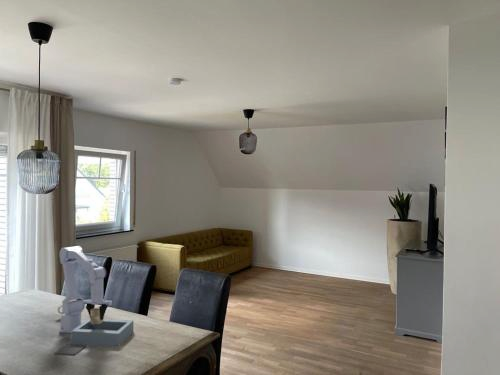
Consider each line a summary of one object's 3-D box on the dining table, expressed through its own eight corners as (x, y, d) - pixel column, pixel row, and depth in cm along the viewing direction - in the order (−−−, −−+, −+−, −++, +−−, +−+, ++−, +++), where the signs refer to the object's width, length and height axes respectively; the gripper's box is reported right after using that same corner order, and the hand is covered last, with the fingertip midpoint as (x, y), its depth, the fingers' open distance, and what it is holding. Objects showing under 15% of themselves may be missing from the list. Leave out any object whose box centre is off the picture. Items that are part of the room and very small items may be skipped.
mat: (53, 354, 175) (53, 353, 175) (66, 345, 185) (66, 344, 185) (74, 355, 174) (74, 354, 174) (86, 346, 184) (86, 345, 184)
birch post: (90, 323, 189) (90, 309, 189) (94, 320, 193) (95, 306, 193) (99, 324, 189) (99, 310, 189) (103, 321, 193) (103, 307, 193)
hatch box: (70, 343, 186) (71, 331, 186) (89, 329, 204) (89, 318, 204) (118, 346, 184) (118, 333, 184) (133, 331, 202) (133, 320, 202)
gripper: (79, 293, 187) (78, 321, 188) (107, 294, 186) (107, 322, 186) (86, 289, 194) (86, 316, 195) (114, 290, 193) (113, 317, 193)
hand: (96, 319), depth 191 cm, fingers closed on birch post, 4 cm apart
